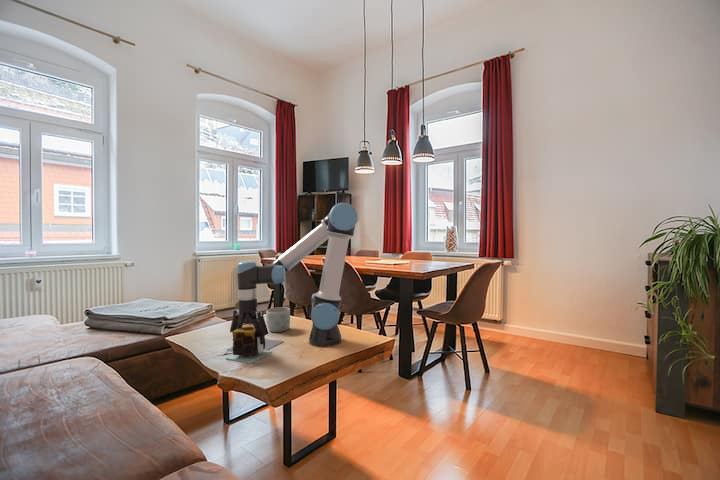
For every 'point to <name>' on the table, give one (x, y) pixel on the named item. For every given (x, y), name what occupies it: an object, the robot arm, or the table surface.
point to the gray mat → (267, 344)
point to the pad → (249, 357)
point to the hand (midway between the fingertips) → (249, 350)
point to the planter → (278, 319)
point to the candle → (246, 341)
